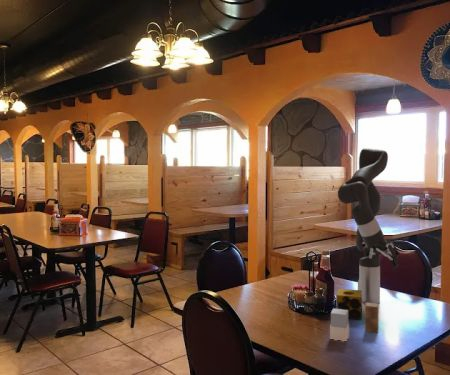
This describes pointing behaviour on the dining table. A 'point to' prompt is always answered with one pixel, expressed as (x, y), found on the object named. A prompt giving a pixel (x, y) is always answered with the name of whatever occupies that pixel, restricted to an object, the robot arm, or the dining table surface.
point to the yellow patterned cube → (350, 302)
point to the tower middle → (339, 318)
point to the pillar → (372, 317)
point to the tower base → (339, 333)
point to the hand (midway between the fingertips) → (386, 265)
